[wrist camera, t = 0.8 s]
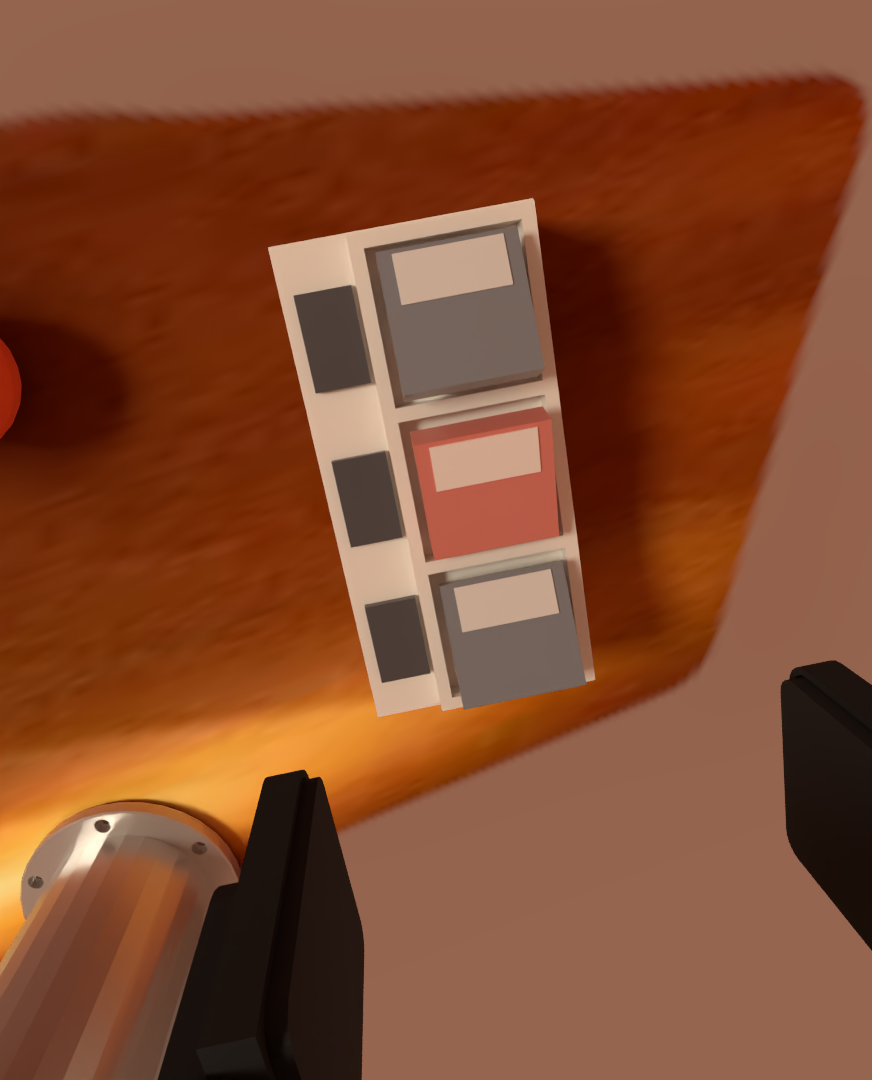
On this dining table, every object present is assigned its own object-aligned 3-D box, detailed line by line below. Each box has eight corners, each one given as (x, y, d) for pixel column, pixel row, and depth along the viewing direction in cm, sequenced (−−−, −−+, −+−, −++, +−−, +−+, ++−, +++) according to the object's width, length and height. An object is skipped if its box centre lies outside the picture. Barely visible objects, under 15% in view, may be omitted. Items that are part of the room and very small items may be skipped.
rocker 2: (579, 677, 33) (586, 684, 31) (461, 701, 33) (463, 710, 31) (556, 560, 33) (562, 562, 31) (438, 583, 32) (439, 586, 31)
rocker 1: (538, 376, 29) (545, 367, 27) (404, 402, 28) (403, 395, 27) (512, 240, 29) (517, 225, 27) (377, 266, 28) (375, 251, 27)
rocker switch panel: (567, 632, 40) (599, 682, 34) (378, 670, 40) (378, 728, 34) (510, 217, 33) (538, 193, 28) (283, 259, 33) (264, 244, 27)
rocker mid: (550, 519, 32) (559, 536, 31) (430, 543, 32) (434, 561, 31) (542, 406, 29) (551, 419, 28) (409, 431, 29) (413, 446, 28)
